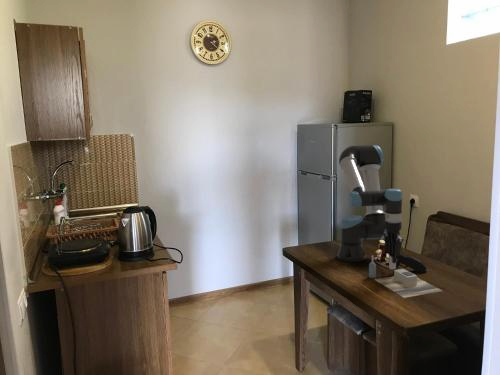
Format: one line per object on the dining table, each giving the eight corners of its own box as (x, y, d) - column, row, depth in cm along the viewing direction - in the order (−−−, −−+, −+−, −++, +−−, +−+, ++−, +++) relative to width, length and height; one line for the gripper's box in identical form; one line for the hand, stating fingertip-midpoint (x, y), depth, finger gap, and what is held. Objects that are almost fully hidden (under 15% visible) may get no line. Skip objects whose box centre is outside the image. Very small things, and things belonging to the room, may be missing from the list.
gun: (420, 284, 201) (431, 267, 199) (390, 268, 203) (400, 252, 200) (419, 282, 204) (429, 265, 201) (389, 266, 205) (399, 250, 203)
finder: (394, 278, 194) (394, 269, 193) (403, 276, 195) (403, 268, 194) (407, 285, 184) (407, 276, 184) (417, 284, 186) (417, 275, 185)
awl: (367, 277, 197) (367, 255, 196) (373, 276, 198) (373, 254, 197) (371, 279, 194) (371, 257, 193) (377, 278, 195) (377, 256, 194)
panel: (374, 280, 193) (374, 279, 193) (410, 274, 199) (410, 273, 198) (403, 299, 172) (403, 297, 172) (442, 292, 178) (443, 290, 178)
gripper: (378, 219, 200) (378, 265, 204) (394, 224, 188) (394, 273, 191) (391, 217, 202) (391, 263, 206) (408, 223, 190) (407, 271, 193)
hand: (392, 268), depth 198 cm, fingers closed
